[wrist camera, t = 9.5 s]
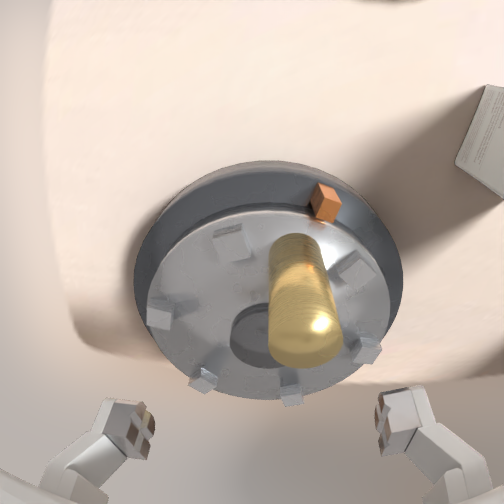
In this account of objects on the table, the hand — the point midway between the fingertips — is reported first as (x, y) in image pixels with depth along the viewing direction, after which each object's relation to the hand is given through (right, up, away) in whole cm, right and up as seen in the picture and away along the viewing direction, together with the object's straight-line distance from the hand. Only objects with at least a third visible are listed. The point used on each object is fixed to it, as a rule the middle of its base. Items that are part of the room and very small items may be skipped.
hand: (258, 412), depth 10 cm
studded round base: (+1, +1, +13) cm, 13 cm away
